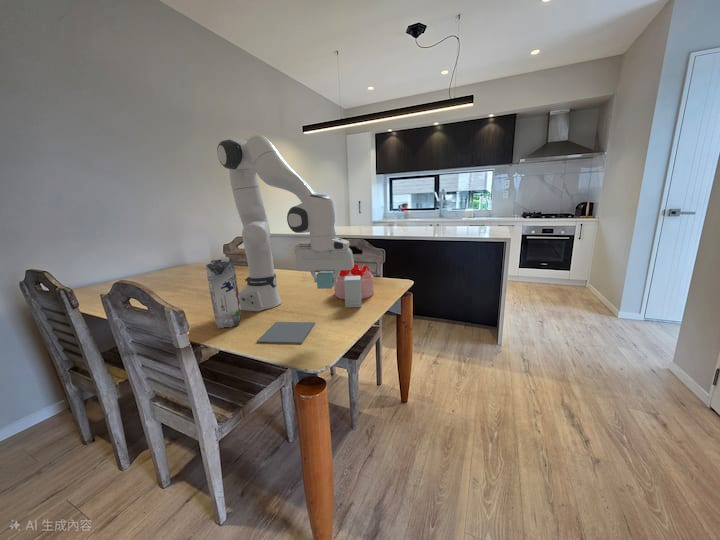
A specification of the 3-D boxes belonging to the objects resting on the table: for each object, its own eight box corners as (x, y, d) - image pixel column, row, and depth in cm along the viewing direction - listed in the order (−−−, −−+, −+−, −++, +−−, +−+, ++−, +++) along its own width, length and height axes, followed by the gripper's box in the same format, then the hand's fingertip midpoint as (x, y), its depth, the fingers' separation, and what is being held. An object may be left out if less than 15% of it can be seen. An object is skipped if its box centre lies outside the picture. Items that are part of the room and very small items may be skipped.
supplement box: (361, 307, 126) (360, 279, 123) (345, 307, 126) (343, 280, 123) (362, 301, 133) (360, 275, 130) (346, 302, 133) (344, 275, 130)
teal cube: (317, 288, 99) (316, 274, 98) (321, 284, 104) (320, 271, 103) (331, 288, 99) (330, 274, 97) (334, 284, 103) (333, 271, 102)
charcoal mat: (256, 342, 98) (256, 341, 98) (276, 323, 113) (275, 321, 113) (301, 343, 96) (301, 342, 95) (315, 323, 111) (315, 322, 111)
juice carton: (215, 330, 109) (202, 261, 102) (220, 320, 119) (209, 256, 112) (240, 327, 111) (229, 259, 104) (243, 317, 121) (233, 254, 114)
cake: (376, 288, 152) (375, 262, 149) (370, 301, 133) (369, 271, 129) (340, 287, 156) (338, 262, 152) (330, 300, 136) (327, 271, 133)
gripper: (290, 245, 96) (294, 284, 99) (350, 244, 93) (352, 284, 97) (297, 242, 102) (300, 279, 105) (353, 241, 99) (355, 279, 103)
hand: (326, 282), depth 101 cm, fingers closed on teal cube, 5 cm apart
